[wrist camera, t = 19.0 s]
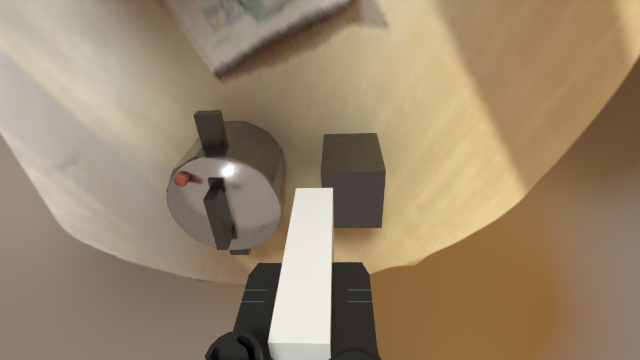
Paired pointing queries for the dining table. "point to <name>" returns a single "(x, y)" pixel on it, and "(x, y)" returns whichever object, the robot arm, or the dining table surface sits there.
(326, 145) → the block
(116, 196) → the dining table surface
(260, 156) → the pot
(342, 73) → the dining table surface
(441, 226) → the dining table surface
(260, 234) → the lid
